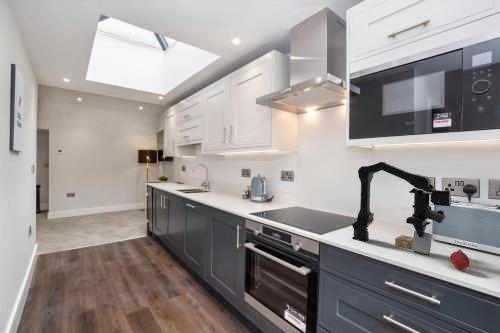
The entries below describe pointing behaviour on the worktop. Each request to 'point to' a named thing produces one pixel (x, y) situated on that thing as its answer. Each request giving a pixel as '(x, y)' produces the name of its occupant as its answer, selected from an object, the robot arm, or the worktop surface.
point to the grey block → (422, 243)
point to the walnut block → (404, 241)
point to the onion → (459, 260)
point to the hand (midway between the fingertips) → (420, 237)
